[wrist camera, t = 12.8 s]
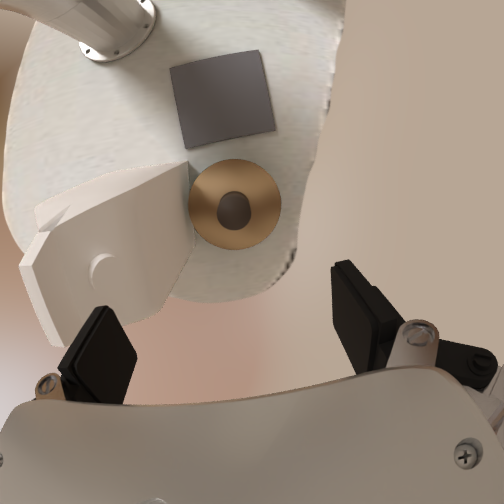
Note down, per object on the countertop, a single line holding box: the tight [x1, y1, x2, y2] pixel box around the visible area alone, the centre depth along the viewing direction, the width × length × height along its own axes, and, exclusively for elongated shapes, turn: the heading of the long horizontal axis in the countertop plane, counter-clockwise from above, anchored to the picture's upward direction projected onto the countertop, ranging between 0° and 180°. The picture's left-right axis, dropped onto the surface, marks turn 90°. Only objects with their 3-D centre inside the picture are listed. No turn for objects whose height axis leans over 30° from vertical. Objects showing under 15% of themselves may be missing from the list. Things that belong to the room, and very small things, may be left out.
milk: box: [19, 161, 196, 348], centre depth 24 cm, size 12×12×26 cm
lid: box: [188, 159, 281, 250], centre depth 30 cm, size 11×11×5 cm
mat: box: [170, 50, 275, 149], centre depth 31 cm, size 12×12×1 cm
